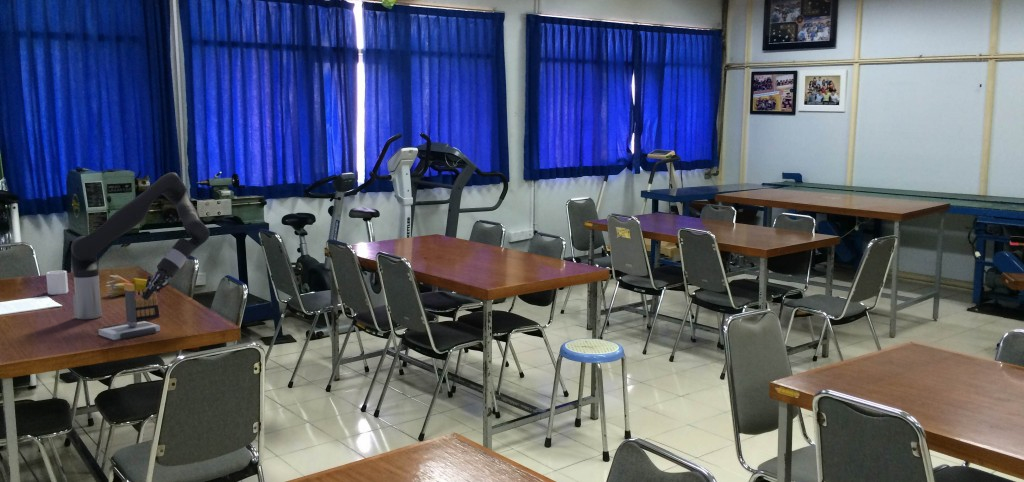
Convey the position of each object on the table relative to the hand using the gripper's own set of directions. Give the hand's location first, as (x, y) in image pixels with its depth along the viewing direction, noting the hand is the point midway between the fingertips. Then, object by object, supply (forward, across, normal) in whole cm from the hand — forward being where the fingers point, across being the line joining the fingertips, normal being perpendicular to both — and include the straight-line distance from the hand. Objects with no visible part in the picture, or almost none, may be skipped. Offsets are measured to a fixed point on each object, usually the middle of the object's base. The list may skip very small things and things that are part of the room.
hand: (143, 298), depth 342 cm
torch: (-12, +71, -31) cm, 78 cm away
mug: (+3, +103, -15) cm, 104 cm away
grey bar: (+13, +8, -4) cm, 16 cm away
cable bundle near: (+13, -8, -4) cm, 16 cm away
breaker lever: (+11, 0, -3) cm, 11 cm away
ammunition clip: (+2, +19, -15) cm, 24 cm away
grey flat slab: (+13, 0, -4) cm, 14 cm away
